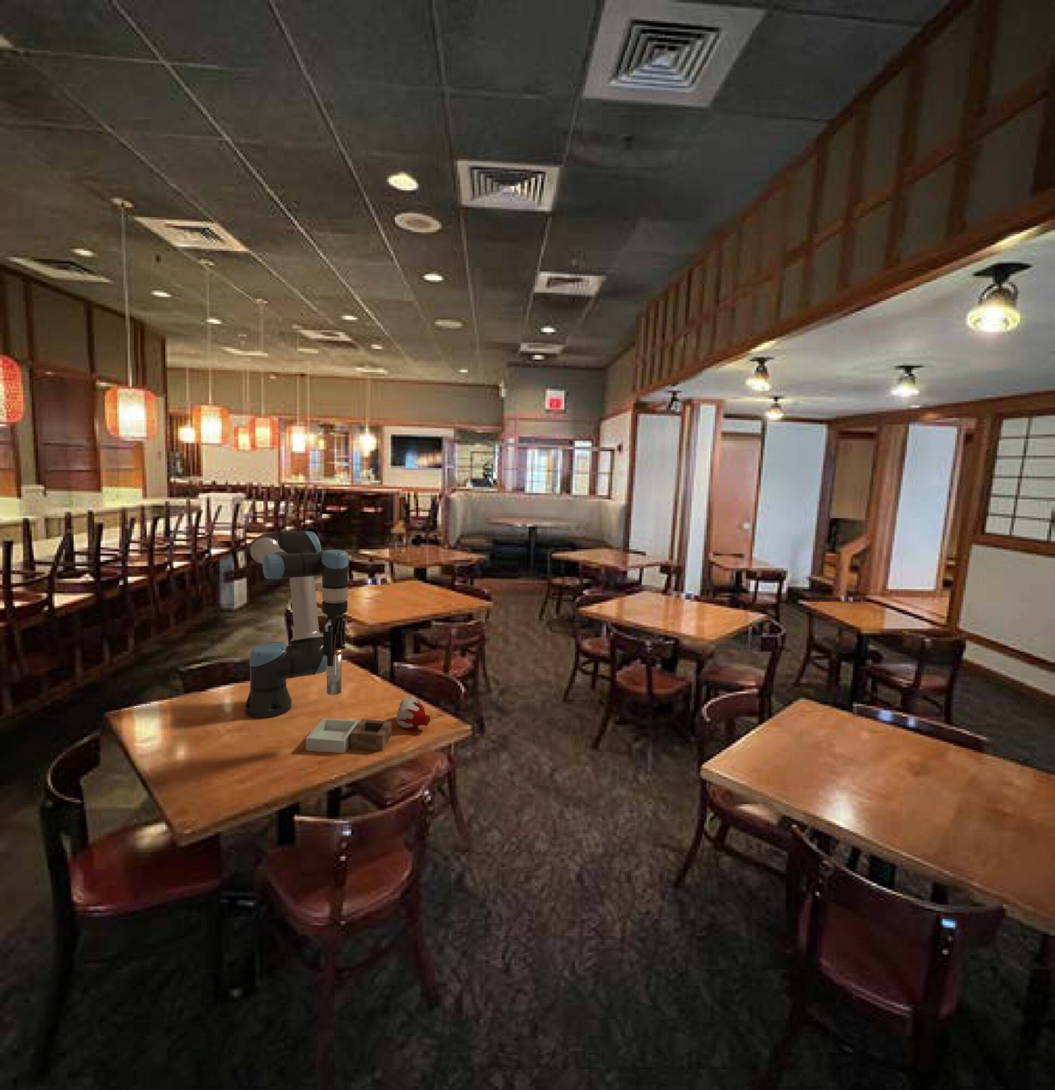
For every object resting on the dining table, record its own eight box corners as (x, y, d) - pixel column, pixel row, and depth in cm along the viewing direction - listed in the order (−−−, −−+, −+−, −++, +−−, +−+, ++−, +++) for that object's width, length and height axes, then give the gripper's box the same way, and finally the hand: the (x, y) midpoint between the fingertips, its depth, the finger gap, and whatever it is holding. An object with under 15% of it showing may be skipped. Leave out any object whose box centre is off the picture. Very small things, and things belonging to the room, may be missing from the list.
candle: (403, 712, 198) (438, 727, 193) (383, 724, 188) (418, 740, 182) (407, 689, 197) (441, 704, 191) (386, 700, 187) (422, 716, 181)
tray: (324, 729, 184) (324, 718, 184) (359, 731, 184) (359, 720, 183) (305, 750, 170) (305, 738, 170) (344, 753, 170) (344, 740, 169)
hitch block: (361, 733, 183) (361, 719, 182) (391, 735, 182) (391, 721, 182) (350, 748, 173) (350, 733, 172) (382, 750, 173) (382, 735, 172)
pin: (330, 689, 177) (330, 647, 175) (343, 689, 177) (343, 647, 175) (324, 694, 173) (324, 651, 171) (338, 695, 173) (338, 652, 171)
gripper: (333, 593, 180) (333, 662, 183) (310, 606, 162) (310, 681, 165) (356, 594, 179) (355, 663, 182) (336, 607, 162) (335, 683, 165)
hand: (334, 672), depth 174 cm, fingers closed on pin, 4 cm apart
